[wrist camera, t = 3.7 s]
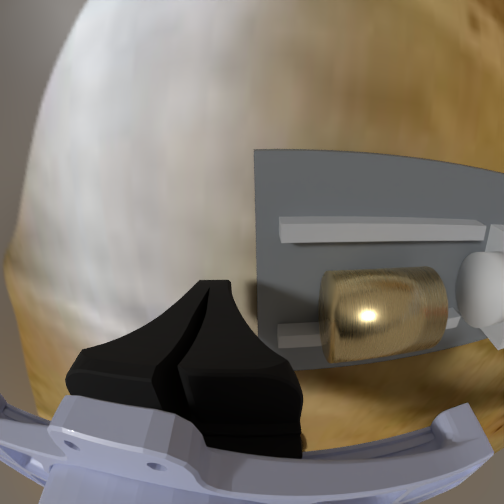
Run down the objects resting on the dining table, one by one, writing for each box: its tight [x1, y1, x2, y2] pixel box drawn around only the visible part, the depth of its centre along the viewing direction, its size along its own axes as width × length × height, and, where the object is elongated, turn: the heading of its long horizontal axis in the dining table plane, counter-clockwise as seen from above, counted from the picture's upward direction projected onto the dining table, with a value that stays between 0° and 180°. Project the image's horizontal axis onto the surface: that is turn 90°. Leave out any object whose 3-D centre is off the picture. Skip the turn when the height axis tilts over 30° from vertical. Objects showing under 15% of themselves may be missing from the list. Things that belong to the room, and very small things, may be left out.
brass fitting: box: [318, 266, 448, 363], centre depth 12 cm, size 5×4×4 cm
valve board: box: [254, 149, 504, 371], centre depth 12 cm, size 18×12×6 cm, turn 92°
